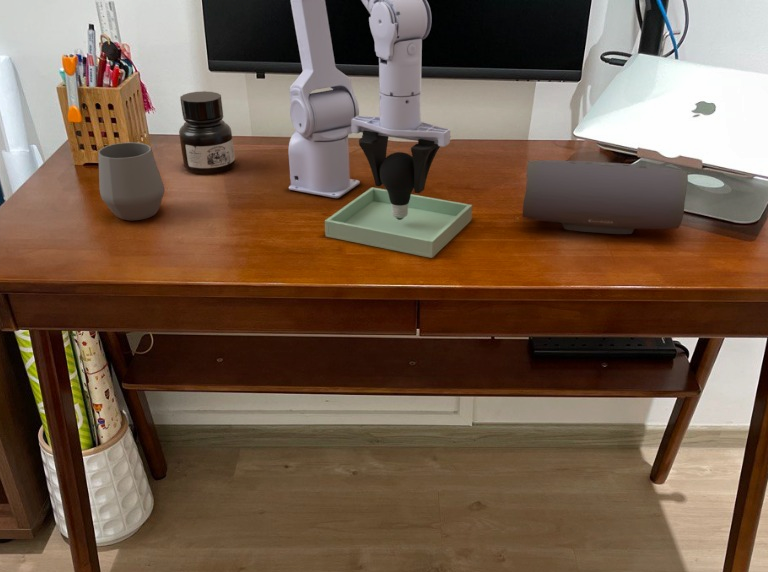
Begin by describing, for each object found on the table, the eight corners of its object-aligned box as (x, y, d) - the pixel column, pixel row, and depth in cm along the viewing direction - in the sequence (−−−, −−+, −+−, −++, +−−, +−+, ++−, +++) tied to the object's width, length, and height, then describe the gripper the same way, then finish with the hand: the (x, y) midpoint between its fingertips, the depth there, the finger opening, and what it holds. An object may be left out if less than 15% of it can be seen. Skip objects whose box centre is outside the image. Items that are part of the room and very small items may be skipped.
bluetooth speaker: (672, 222, 128) (684, 158, 122) (677, 247, 120) (691, 179, 114) (524, 211, 131) (530, 148, 125) (520, 234, 123) (526, 168, 117)
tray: (325, 236, 122) (324, 220, 121) (372, 202, 133) (371, 187, 132) (432, 258, 116) (432, 241, 115) (471, 220, 128) (472, 204, 126)
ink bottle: (190, 178, 141) (179, 106, 134) (175, 163, 148) (164, 93, 141) (244, 169, 145) (237, 99, 138) (228, 155, 152) (220, 87, 145)
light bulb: (380, 211, 126) (379, 146, 121) (418, 212, 126) (419, 146, 121) (379, 227, 122) (378, 159, 116) (419, 227, 122) (420, 160, 116)
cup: (129, 199, 133) (117, 137, 127) (179, 207, 131) (169, 144, 125) (92, 221, 126) (77, 156, 120) (144, 230, 123) (132, 163, 118)
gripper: (460, 90, 114) (456, 186, 122) (366, 78, 119) (368, 171, 127) (440, 103, 109) (437, 202, 116) (342, 90, 114) (346, 186, 121)
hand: (400, 187), depth 121 cm, fingers closed on light bulb, 6 cm apart
